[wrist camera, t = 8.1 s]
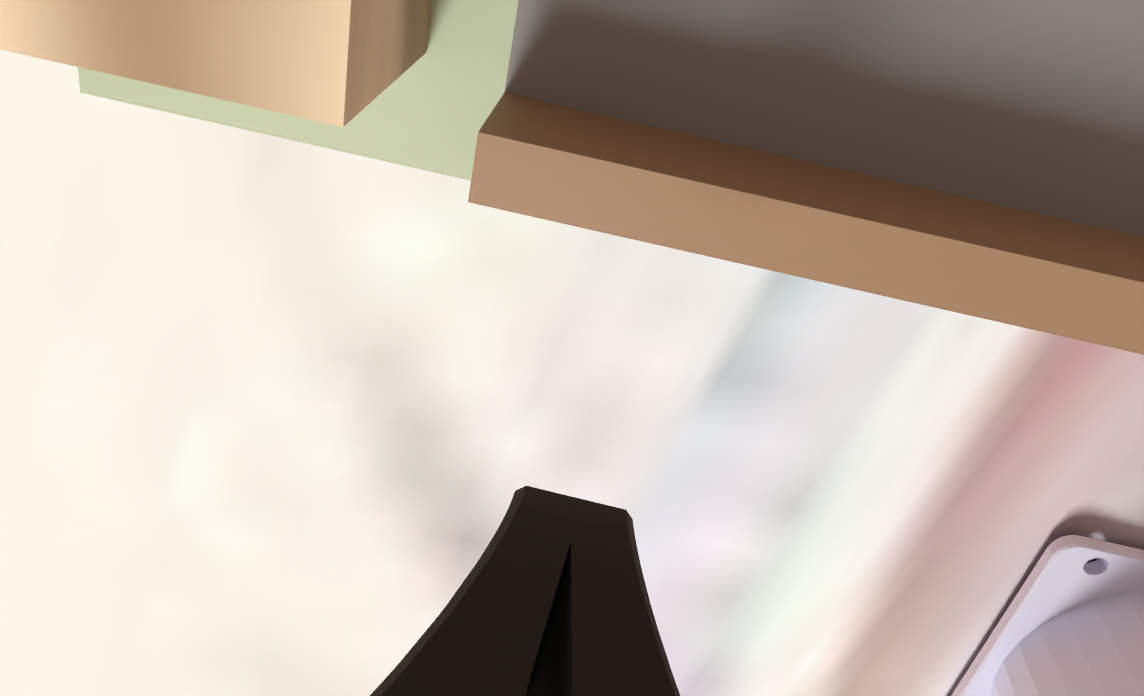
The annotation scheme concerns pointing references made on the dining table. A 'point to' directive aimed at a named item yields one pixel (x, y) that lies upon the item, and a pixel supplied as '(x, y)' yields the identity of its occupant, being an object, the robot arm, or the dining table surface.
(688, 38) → the chute
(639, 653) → the robot arm
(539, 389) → the dining table surface
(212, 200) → the dining table surface
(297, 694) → the dining table surface
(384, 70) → the birch block
